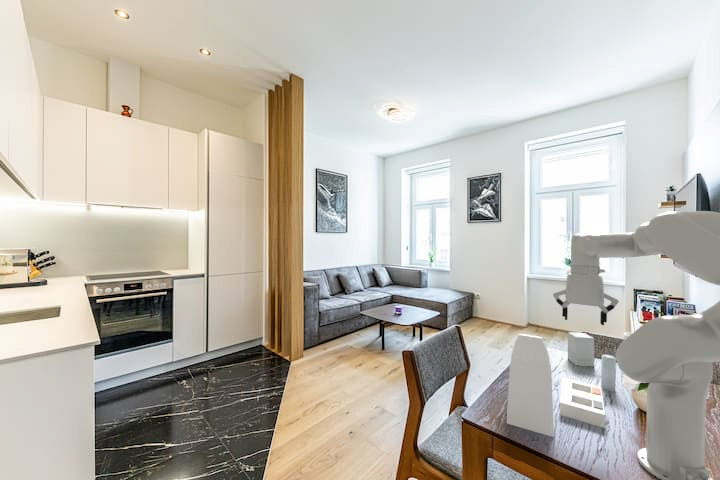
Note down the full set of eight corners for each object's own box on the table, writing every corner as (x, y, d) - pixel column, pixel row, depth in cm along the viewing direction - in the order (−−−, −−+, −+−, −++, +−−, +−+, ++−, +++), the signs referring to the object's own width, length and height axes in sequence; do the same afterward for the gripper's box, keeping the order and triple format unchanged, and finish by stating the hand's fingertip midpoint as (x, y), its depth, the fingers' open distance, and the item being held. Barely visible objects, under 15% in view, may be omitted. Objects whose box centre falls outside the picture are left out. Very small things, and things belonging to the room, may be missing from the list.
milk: (551, 415, 92) (552, 333, 92) (553, 437, 82) (554, 345, 82) (509, 404, 98) (509, 327, 98) (506, 423, 88) (507, 338, 88)
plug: (618, 391, 106) (618, 359, 105) (607, 391, 106) (607, 359, 106) (609, 386, 110) (609, 354, 109) (598, 386, 110) (598, 354, 110)
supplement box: (594, 367, 125) (595, 338, 125) (575, 365, 127) (575, 337, 127) (585, 360, 132) (585, 332, 132) (567, 358, 134) (567, 331, 134)
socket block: (605, 428, 86) (605, 413, 86) (559, 414, 92) (560, 401, 92) (600, 398, 102) (600, 385, 102) (562, 388, 108) (562, 376, 108)
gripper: (617, 271, 95) (616, 323, 96) (554, 267, 105) (553, 314, 106) (620, 274, 89) (619, 329, 89) (553, 269, 99) (552, 319, 99)
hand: (583, 321), depth 98 cm, fingers open, 9 cm apart
